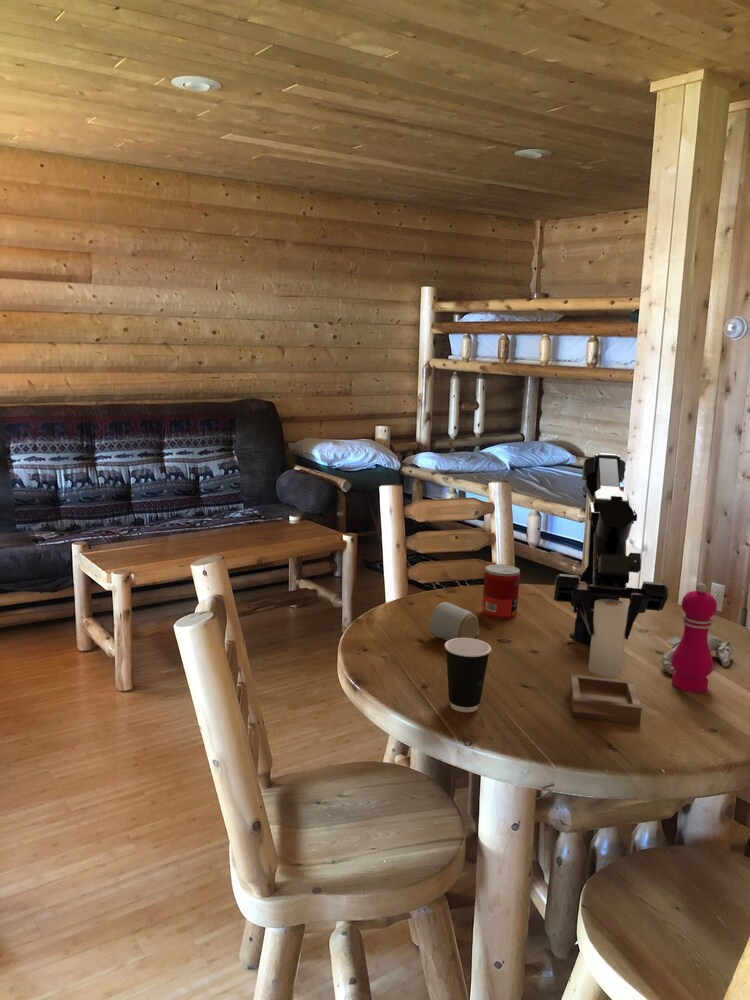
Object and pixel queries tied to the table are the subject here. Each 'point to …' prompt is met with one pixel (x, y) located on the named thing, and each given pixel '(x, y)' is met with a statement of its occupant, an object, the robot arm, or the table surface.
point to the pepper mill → (694, 642)
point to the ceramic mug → (453, 622)
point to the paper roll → (608, 637)
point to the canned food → (500, 591)
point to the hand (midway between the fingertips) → (609, 636)
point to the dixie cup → (466, 672)
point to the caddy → (604, 699)
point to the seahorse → (714, 643)
